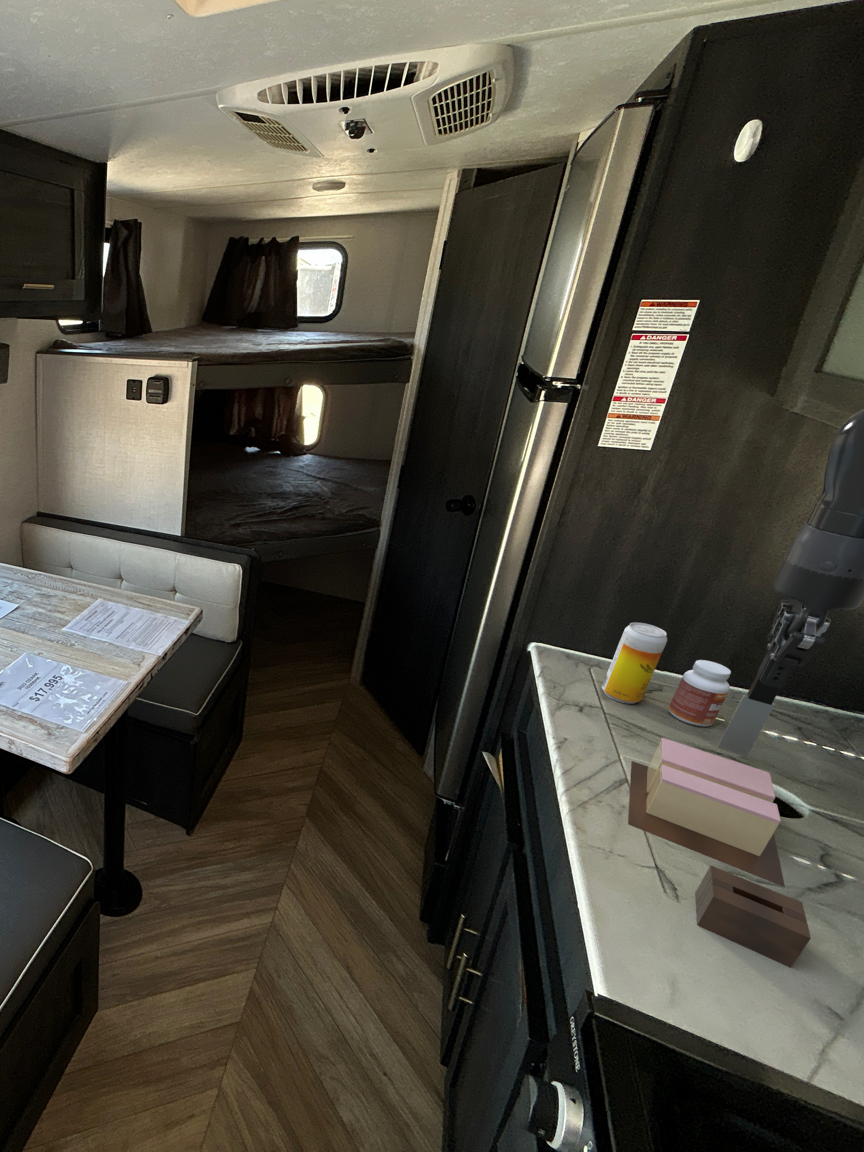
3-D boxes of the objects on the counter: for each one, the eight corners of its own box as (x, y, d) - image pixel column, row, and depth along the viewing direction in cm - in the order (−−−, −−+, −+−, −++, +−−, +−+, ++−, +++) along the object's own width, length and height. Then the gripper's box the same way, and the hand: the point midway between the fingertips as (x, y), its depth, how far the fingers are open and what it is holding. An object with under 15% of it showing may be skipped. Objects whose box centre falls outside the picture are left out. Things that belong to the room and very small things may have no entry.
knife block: (780, 936, 77) (802, 902, 75) (787, 973, 73) (811, 938, 71) (692, 898, 82) (710, 864, 80) (693, 930, 78) (713, 896, 76)
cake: (751, 806, 95) (769, 772, 93) (755, 832, 91) (775, 797, 88) (647, 769, 103) (662, 737, 100) (646, 792, 98) (662, 758, 96)
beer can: (644, 709, 119) (673, 640, 113) (603, 699, 122) (630, 632, 116) (636, 692, 124) (664, 626, 118) (597, 683, 127) (623, 618, 121)
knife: (745, 753, 89) (801, 650, 82) (747, 759, 88) (802, 655, 81) (716, 744, 91) (768, 642, 84) (717, 750, 90) (769, 647, 83)
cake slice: (756, 839, 90) (777, 804, 87) (759, 856, 87) (781, 821, 84) (646, 797, 97) (662, 764, 94) (646, 812, 94) (662, 778, 92)
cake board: (765, 813, 95) (768, 808, 95) (782, 892, 83) (785, 887, 82) (629, 765, 105) (631, 760, 105) (625, 829, 93) (627, 824, 92)
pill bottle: (708, 732, 113) (733, 680, 109) (663, 715, 117) (686, 665, 113) (715, 719, 116) (740, 668, 112) (671, 703, 121) (694, 653, 117)
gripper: (891, 591, 71) (819, 716, 77) (863, 555, 80) (801, 670, 87) (795, 572, 75) (734, 693, 82) (779, 541, 85) (726, 651, 92)
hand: (769, 680), depth 85 cm, fingers closed on knife, 1 cm apart
